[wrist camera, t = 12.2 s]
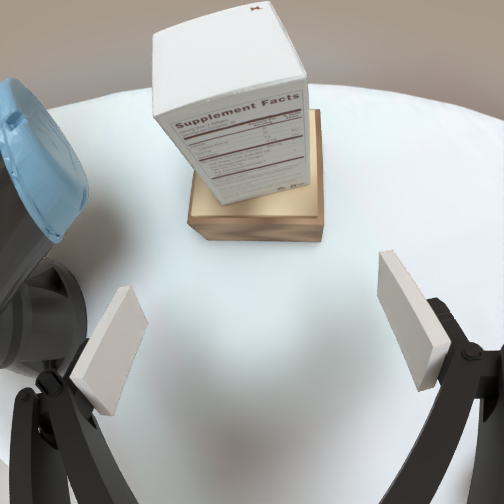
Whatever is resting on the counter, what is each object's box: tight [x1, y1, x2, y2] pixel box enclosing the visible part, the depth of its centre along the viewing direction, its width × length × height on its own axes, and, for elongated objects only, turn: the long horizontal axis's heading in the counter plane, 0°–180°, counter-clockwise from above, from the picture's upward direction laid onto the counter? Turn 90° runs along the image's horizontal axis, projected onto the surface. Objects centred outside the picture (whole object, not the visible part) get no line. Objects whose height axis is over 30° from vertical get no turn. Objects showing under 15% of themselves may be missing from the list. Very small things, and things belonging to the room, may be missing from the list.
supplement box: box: [152, 1, 310, 205], centre depth 19 cm, size 7×7×13 cm
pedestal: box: [187, 109, 324, 242], centre depth 28 cm, size 11×11×6 cm
